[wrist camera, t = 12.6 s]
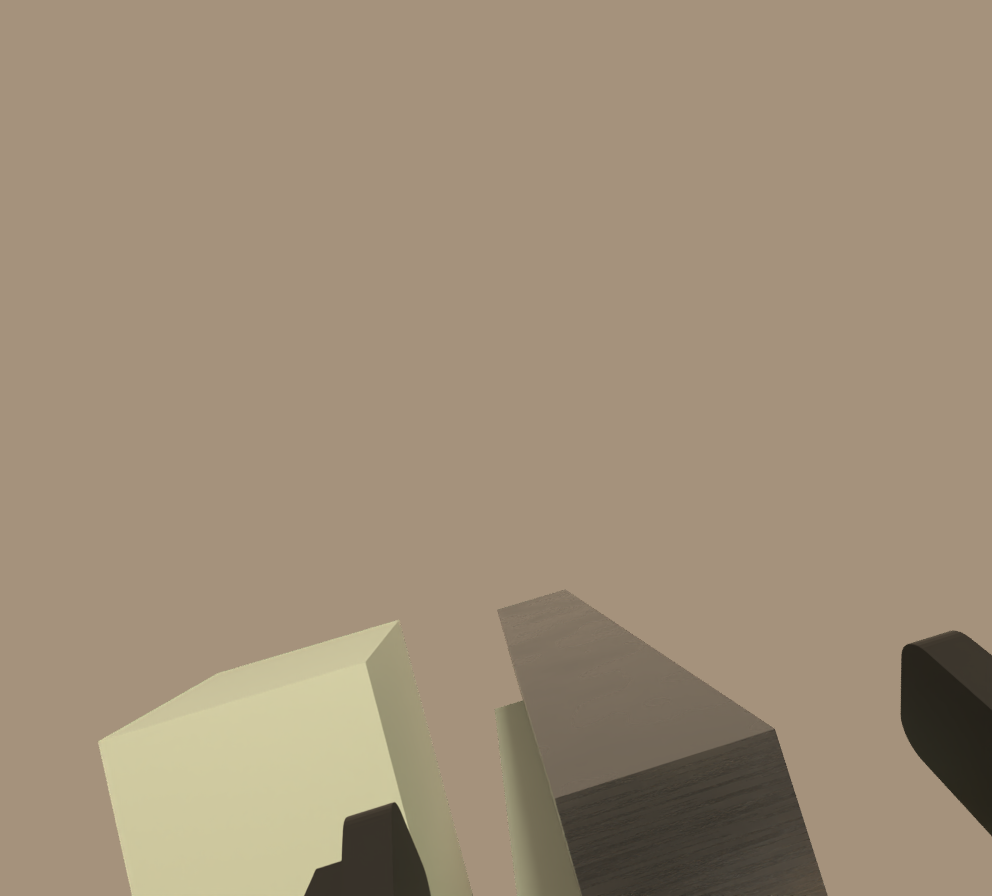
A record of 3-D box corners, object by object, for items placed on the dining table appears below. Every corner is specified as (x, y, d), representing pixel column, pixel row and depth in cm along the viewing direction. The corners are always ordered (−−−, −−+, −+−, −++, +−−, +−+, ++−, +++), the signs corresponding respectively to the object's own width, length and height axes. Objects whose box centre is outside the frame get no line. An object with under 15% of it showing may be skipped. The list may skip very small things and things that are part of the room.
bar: (623, 1043, 10) (555, 799, 10) (517, 680, 34) (497, 610, 34) (850, 966, 10) (774, 728, 11) (585, 659, 34) (565, 589, 34)
